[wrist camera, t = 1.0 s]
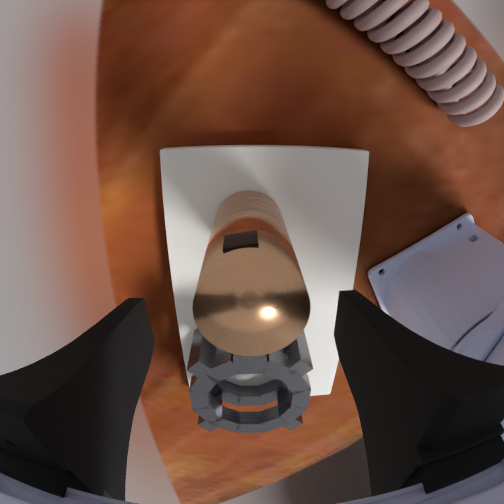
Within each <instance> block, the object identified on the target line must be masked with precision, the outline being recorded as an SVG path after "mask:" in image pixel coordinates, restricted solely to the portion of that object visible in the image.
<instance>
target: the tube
mask: <svg viewBox="0 0 504 504" xmlns="http://www.w3.org/2000/svg"><path fill="white" fill-rule="evenodd" d="M192 310H193V317H194V321H195V323H196V326H197V328H198V329H199V331H200V332H201V334H202V335H203V336H204V337H205V338H206V339H207V340H208V341H209V342H210V343H211V344H213V345H214V346H216V347H218V348H219V349H221V350H224V351H226V352H229V353H232V354H236V355H242V356H260V355H265V354H270V353H273V352H276V351H278V350H281V349H282V348H284V347H286V346H288V345H289V344H290V343H292V342H293V341H294V340H295V339H296V338H297V337H298V336H299V335H300V334H301V333H302V331H303V330H304V328H305V327H306V324H307V322H308V319H309V316H310V310H311V306H310V298H309V294H308V291H307V288H306V285H305V282H304V279H303V276H302V273H301V270H300V267H299V264H298V261H297V258H296V255H295V252H294V249H293V246H292V243H291V240H290V237H289V234H288V231H287V228H286V225H285V222H284V219H283V216H282V214H281V211H280V209H279V207H278V205H277V204H276V202H275V201H274V200H273V199H272V198H270V197H269V196H268V195H266V194H264V193H261V192H258V191H253V190H244V191H239V192H236V193H234V194H232V195H230V196H229V197H227V198H226V199H225V200H224V201H223V202H222V203H221V204H220V206H219V208H218V210H217V212H216V215H215V219H214V223H213V226H212V230H211V234H210V237H209V241H208V245H207V249H206V252H205V256H204V260H203V264H202V268H201V272H200V275H199V279H198V283H197V287H196V291H195V295H194V299H193V307H192Z"/></svg>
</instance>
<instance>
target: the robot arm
mask: <svg viewBox="0 0 504 504" xmlns="http://www.w3.org/2000/svg"><path fill="white" fill-rule="evenodd" d="M458 224H459V227H458V228H457V225H458ZM381 269H383V271H382V272H381V273H379V271H380V270H381ZM368 278H369V280H370V283H371V285H372V288H373V290H374V293H375V295H376V298H377V300H378V303H379V305H380V308H381V309H380V308H379V307H377V306H376V305H375V304H373V303H372V302H371V301H370V300H368V299H367V298H366V297H364V296H363V295H362V294H360V293H359V292H357V291H356V290H344V291H339V297H338V305H337V313H336V321H335V328H334V339H335V343H336V348H337V352H338V356H339V359H340V362H341V365H342V368H343V370H344V373H345V376H346V378H347V381H348V384H349V386H350V389H351V392H352V395H353V397H354V400H355V403H356V406H357V410H358V413H359V418H360V422H361V427H362V432H363V437H364V443H365V448H366V454H367V460H368V468H369V476H370V487H371V497H369V498H364V499H360V500H355V501H349V502H344V503H338V504H504V244H503V243H502V242H500V241H499V240H497V239H496V238H494V237H493V236H491V235H490V234H488V233H487V232H485V231H484V230H482V229H481V228H479V227H478V226H476V225H475V224H474V219H473V216H472V215H471V214H469V213H465V214H464V215H462V216H461V217H459V218H457V219H456V220H454V221H452V222H451V223H449V224H448V225H446V226H444V227H443V228H441V229H439V230H438V231H436V232H434V233H433V234H431V235H429V236H428V237H426V238H424V239H422V240H421V241H419V242H417V243H416V244H414V245H412V246H410V247H409V248H407V249H405V250H403V251H402V252H400V253H398V254H396V255H395V256H393V257H391V258H389V259H387V260H386V261H384V262H382V263H380V264H378V265H376V266H375V267H373V268H371V269H370V270H369V271H368ZM154 341H155V340H154V336H153V333H152V329H151V325H150V321H149V317H148V313H147V309H146V305H145V301H144V298H128V299H127V300H125V301H124V302H123V303H121V304H120V305H119V306H118V307H116V308H115V309H114V310H113V311H111V312H110V313H109V314H108V315H106V316H105V317H104V318H103V319H101V320H100V321H99V322H98V323H96V324H95V325H94V326H93V327H91V328H90V329H89V330H87V331H86V332H84V333H83V334H82V335H80V336H79V337H78V338H76V339H75V340H74V341H72V342H71V343H69V344H68V345H66V346H64V347H63V348H61V349H59V350H58V351H56V352H54V353H53V354H51V355H49V356H47V357H45V358H43V359H41V360H39V361H37V362H35V363H33V364H30V365H28V366H26V367H23V368H21V369H18V370H16V371H13V372H10V373H7V374H4V375H0V504H137V503H131V502H126V501H125V479H126V466H127V455H128V446H129V439H130V433H131V427H132V421H133V416H134V413H135V409H136V405H137V402H138V399H139V396H140V393H141V390H142V387H143V384H144V381H145V378H146V375H147V372H148V369H149V366H150V363H151V357H152V352H153V347H154Z"/></svg>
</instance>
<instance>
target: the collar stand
mask: <svg viewBox="0 0 504 504" xmlns="http://www.w3.org/2000/svg"><path fill="white" fill-rule="evenodd" d="M312 369H313V365H312V361H311V357H310V353H309V349H308V344H307V340H306V336H305V332H304V330H303V331H302V333H301V334H300V335H299V336H298V337H297V338H296V339H295V340H294V341H293V342H292V343H290V344H289V345H288V346H286V347H284V348H282V349H281V350H278V351H276V352H273V353H270V354H265V355H260V356H242V355H236V354H232V353H229V352H226V351H224V350H221V349H219V348H218V347H216V346H214V345H213V344H211V343H210V342H209V341H208V340H207V339H206V338H205V337H204V336H203V335H202V334H201V332H200V331H199V329H198V328H197V329H196V330H195V331H194V335H193V340H192V345H191V350H190V355H189V360H188V365H187V371H188V372H190V373H191V374H193V376H192V377H191V382H190V388H189V394H190V399H191V404H192V408H193V409H194V411H195V412H196V413H197V414H198V415H199V418H198V425H199V426H201V427H203V428H204V429H206V430H208V431H212V430H214V429H216V428H217V427H219V428H222V429H226V430H229V431H232V432H236V431H237V433H255V432H264V431H265V432H267V431H270V430H273V429H276V428H279V427H282V426H283V427H285V428H287V429H289V430H292V429H294V428H296V427H298V426H299V425H301V424H303V422H302V416H301V414H302V413H303V412H304V411H305V410H306V409H307V408H308V403H309V398H310V393H311V387H310V382H309V377H308V375H307V373H308V372H310V371H311V370H312ZM237 374H264V375H267V376H270V377H273V378H275V379H274V380H272V381H269V382H266V383H264V384H261V385H259V386H240V385H237V384H234V383H231V382H229V381H226V380H224V379H226V378H229V377H232V376H234V375H237ZM276 400H278V405H277V406H275V407H272V408H269V409H266V410H264V411H261V412H239V411H235V410H232V409H229V408H226V407H223V406H222V401H225V402H228V403H231V404H234V405H237V406H246V405H262V404H263V405H265V404H268V403H270V402H273V401H276Z"/></svg>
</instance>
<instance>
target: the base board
mask: <svg viewBox="0 0 504 504" xmlns="http://www.w3.org/2000/svg"><path fill="white" fill-rule="evenodd" d="M368 162H369V151H366V150H363V149H351V148H337V147H319V146H294V145H213V146H188V147H171V148H163V149H161V150H160V163H161V178H162V192H163V204H164V215H165V226H166V236H167V245H168V254H169V262H170V271H171V278H172V286H173V293H174V300H175V307H176V314H177V320H178V327H179V333H180V339H181V345H182V351H183V356H184V362H185V367H186V373H187V378H188V383H189V388H190V382H191V377H192V376H193V374H191V373H190V372H188V371H187V365H188V360H189V355H190V350H191V345H192V340H193V335H194V331H195V330H196V329H197V326H196V323H195V321H194V317H193V310H192V307H193V299H194V295H195V291H196V287H197V283H198V279H199V275H200V272H201V268H202V264H203V260H204V256H205V252H206V249H207V245H208V241H209V237H210V234H211V230H212V226H213V223H214V219H215V215H216V212H217V210H218V208H219V206H220V204H221V203H222V202H223V201H224V200H225V199H226V198H227V197H229V196H230V195H232V194H234V193H236V192H239V191H244V190H253V191H258V192H261V193H264V194H266V195H268V196H269V197H270V198H272V199H273V200H274V201H275V202H276V204H277V205H278V207H279V209H280V211H281V214H282V216H283V219H284V222H285V225H286V228H287V231H288V234H289V237H290V240H291V243H292V246H293V249H294V252H295V255H296V258H297V261H298V264H299V267H300V270H301V273H302V276H303V279H304V282H305V285H306V288H307V291H308V294H309V298H310V306H311V310H310V316H309V319H308V322H307V324H306V327H305V328H304V332H305V336H306V340H307V344H308V349H309V353H310V357H311V361H312V365H313V369H312V370H311V371H310V372H308V373H307V375H308V377H309V382H310V387H311V393H310V396H314V395H326V394H330V393H331V389H332V385H333V381H334V377H335V373H336V368H337V364H338V360H339V356H338V352H337V348H336V343H335V339H334V328H335V321H336V313H337V305H338V297H339V291H344V290H353V284H354V278H355V272H356V266H357V259H358V253H359V246H360V238H361V231H362V223H363V214H364V205H365V196H366V185H367V174H368ZM274 379H275V378H273V377H270V376H267V375H264V374H237V375H234V376H232V377H229V378H226V379H224V380H226V381H229V382H231V383H234V384H237V385H240V386H259V385H261V384H264V383H266V382H269V381H272V380H274Z"/></svg>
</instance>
